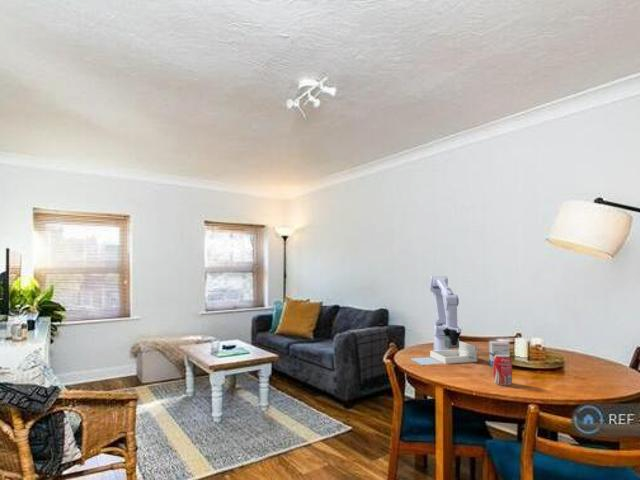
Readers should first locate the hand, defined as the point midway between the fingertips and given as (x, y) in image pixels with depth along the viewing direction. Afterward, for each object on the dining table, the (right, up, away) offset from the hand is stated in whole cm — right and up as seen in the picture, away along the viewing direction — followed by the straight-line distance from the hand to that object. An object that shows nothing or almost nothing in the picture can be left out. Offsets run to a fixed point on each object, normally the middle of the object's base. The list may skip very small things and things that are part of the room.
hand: (451, 344), depth 206 cm
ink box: (+19, -8, -12) cm, 24 cm away
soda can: (+8, -6, -41) cm, 42 cm away
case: (+1, -8, -1) cm, 8 cm away
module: (0, -2, 0) cm, 2 cm away
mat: (-15, -8, -4) cm, 17 cm away
